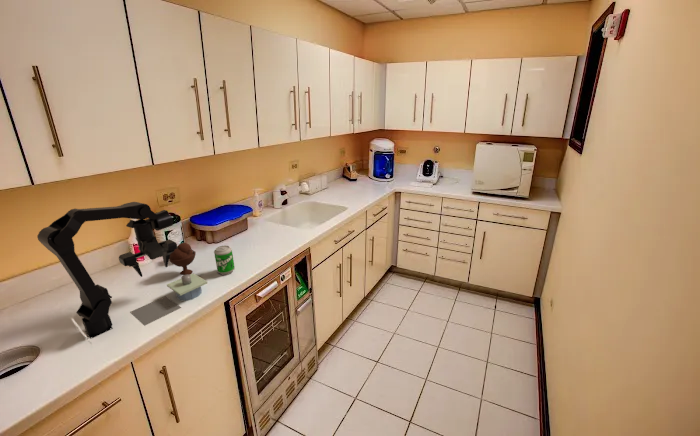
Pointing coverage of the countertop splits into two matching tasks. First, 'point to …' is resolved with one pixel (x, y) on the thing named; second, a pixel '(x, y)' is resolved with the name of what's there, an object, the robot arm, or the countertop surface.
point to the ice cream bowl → (183, 257)
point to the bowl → (190, 294)
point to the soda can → (224, 260)
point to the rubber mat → (155, 310)
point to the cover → (186, 284)
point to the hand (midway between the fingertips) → (154, 271)
